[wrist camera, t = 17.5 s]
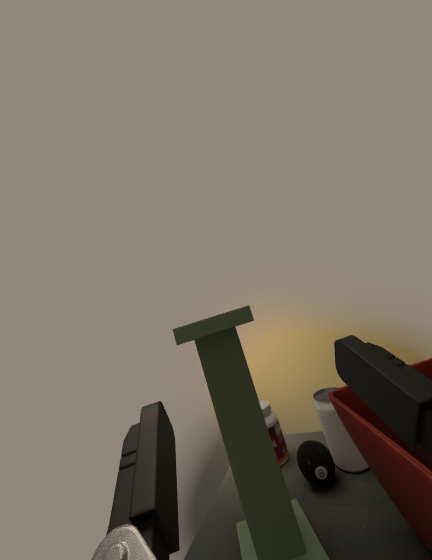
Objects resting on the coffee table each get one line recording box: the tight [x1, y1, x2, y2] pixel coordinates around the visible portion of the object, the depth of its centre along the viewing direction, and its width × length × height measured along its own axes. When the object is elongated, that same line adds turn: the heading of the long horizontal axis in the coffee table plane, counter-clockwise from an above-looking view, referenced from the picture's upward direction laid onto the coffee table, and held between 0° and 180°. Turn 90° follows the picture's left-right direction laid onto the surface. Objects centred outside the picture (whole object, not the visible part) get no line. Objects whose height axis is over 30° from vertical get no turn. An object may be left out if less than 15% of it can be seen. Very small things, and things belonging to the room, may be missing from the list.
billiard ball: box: [297, 440, 335, 485], centre depth 41 cm, size 6×6×6 cm
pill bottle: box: [259, 401, 289, 466], centre depth 50 cm, size 6×6×11 cm
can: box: [313, 387, 369, 473], centre depth 43 cm, size 6×6×12 cm
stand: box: [173, 306, 329, 560], centre depth 33 cm, size 14×10×32 cm
